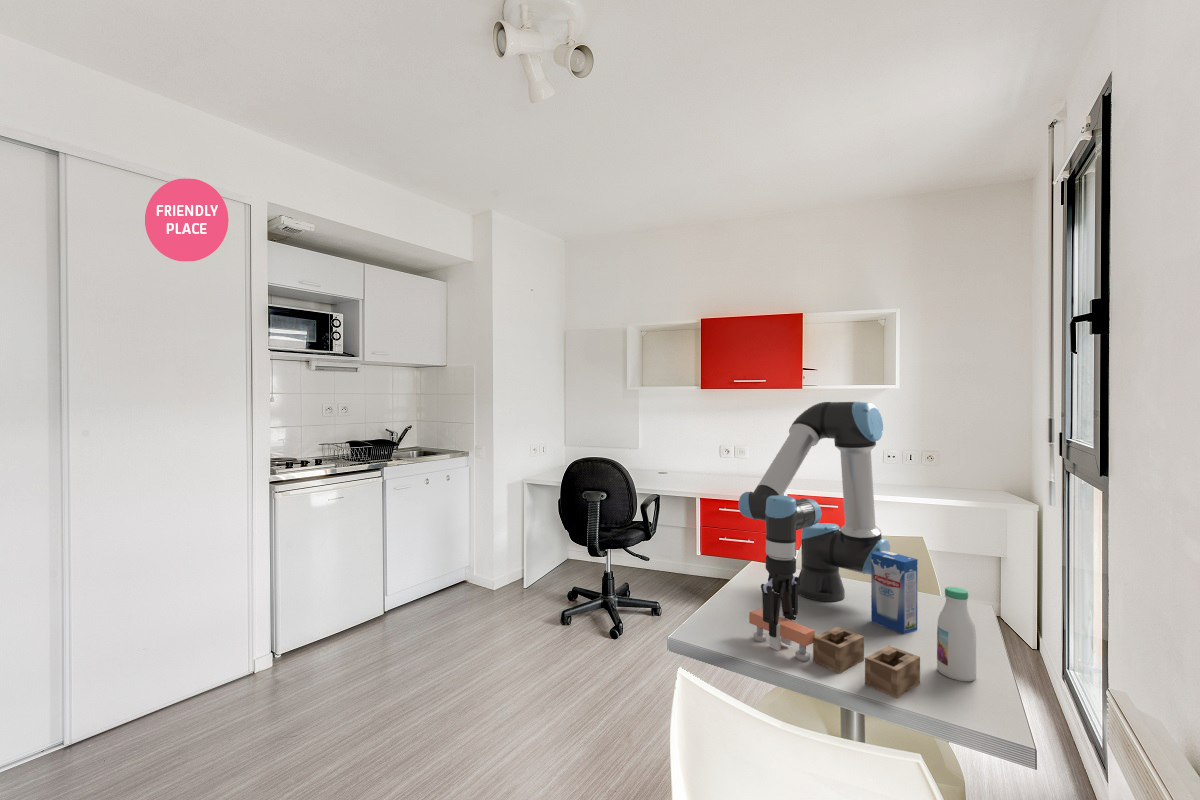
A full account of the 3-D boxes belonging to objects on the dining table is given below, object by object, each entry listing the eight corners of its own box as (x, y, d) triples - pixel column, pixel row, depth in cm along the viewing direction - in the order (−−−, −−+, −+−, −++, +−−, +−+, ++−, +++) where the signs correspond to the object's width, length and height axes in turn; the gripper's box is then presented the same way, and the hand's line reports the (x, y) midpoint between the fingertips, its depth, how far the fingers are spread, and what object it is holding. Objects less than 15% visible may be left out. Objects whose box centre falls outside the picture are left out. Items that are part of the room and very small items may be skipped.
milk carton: (871, 621, 156) (871, 553, 156) (884, 617, 159) (884, 550, 159) (904, 634, 147) (904, 562, 147) (917, 630, 150) (917, 559, 150)
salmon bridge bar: (749, 638, 144) (749, 611, 144) (758, 634, 146) (758, 608, 147) (805, 663, 130) (805, 634, 130) (814, 659, 133) (814, 630, 133)
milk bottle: (978, 673, 126) (978, 588, 126) (973, 686, 120) (973, 597, 120) (940, 662, 131) (940, 581, 131) (934, 674, 125) (934, 589, 125)
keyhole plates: (837, 649, 138) (837, 626, 138) (919, 683, 121) (920, 656, 121) (813, 661, 131) (813, 637, 131) (896, 698, 115) (896, 670, 115)
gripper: (788, 547, 147) (788, 632, 146) (747, 558, 137) (747, 649, 137) (812, 554, 140) (812, 642, 140) (772, 565, 131) (772, 660, 130)
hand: (780, 645), depth 138 cm, fingers closed on salmon bridge bar, 4 cm apart
